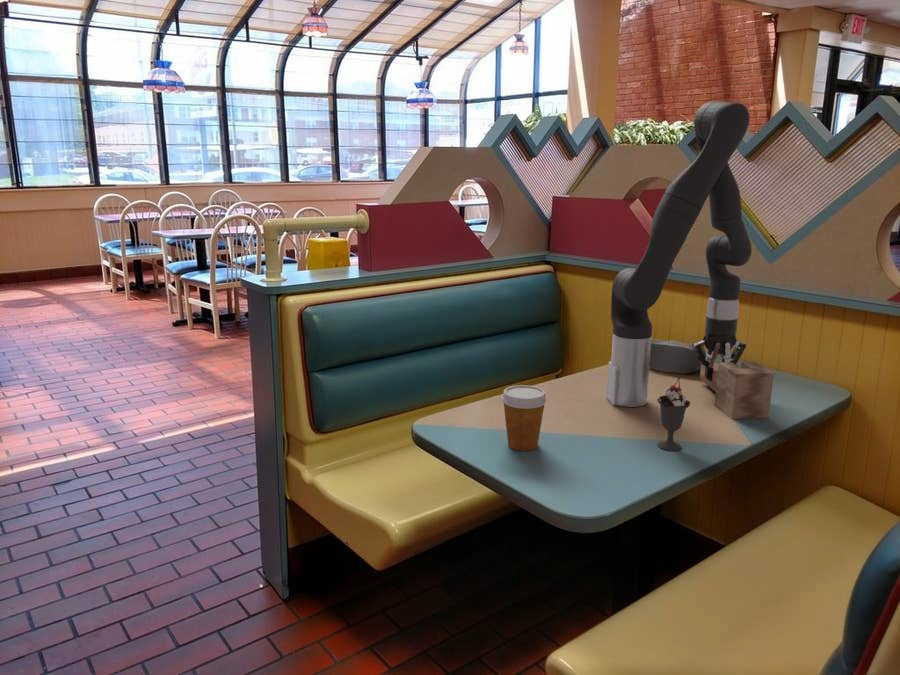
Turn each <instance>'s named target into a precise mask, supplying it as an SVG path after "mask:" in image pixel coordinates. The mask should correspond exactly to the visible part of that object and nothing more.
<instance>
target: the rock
mask: <svg viewBox="0 0 900 675" xmlns="http://www.w3.org/2000/svg"><path fill="white" fill-rule="evenodd" d="M692 344H693V343H684V342H681V341H676V340H660V339H655V338H651V351H650V364H649V369H652V370H654V369H655V370H654V371H657V370H660V371H659V372H663V371H666V372H665V373H675V374H684V375H685V374H686V375H687V374H690V373H691V374H692V373H693V372H694V373H695V372H697V371H699V370H701V363H699V362H698V359H697V356H696V354H695V351H694V348H693V345H692ZM702 351H703V354H704V357H705V359H706V353H707V351H705V349H703V350H702Z"/></svg>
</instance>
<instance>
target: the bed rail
mask: <svg viewBox="0 0 900 675" xmlns="http://www.w3.org/2000/svg"><path fill="white" fill-rule="evenodd" d="M718 368H719V363H716V362H715V361H714V365H713V376H712V381H708V380H707V379H706V378H705V376H704V375H705V365H702V364H701V368H700V373H699V380H701V381H702V382H703V383H704V384H706V385H707V387H709V388H710V389H712V390H713V391H714V392H715V393H716V387H717V378H718Z"/></svg>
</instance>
